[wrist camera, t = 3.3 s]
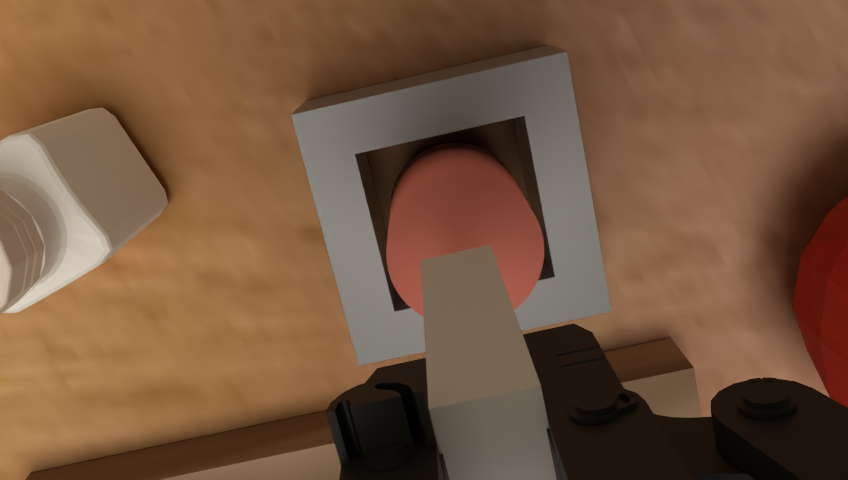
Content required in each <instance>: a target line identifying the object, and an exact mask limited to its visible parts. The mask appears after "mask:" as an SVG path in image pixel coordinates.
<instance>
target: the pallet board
mask: <svg viewBox="0 0 848 480" xmlns="http://www.w3.org/2000/svg"><path fill="white" fill-rule="evenodd" d="M604 354H605V356H606V359H608V361H609V363H610V364H611V366H612V368H613V370H614V371H615V373H616V375H617V377H618V378H619V380H620V382H621V384H622V385H623V387H624V389H627V390H630V391H633V392H636V393H638V394H639V395H640V396H641V397H642V398H643V399H644V400H645V401H646V402H647V404H648V405H649V407H650V409H651V410H652V412H653V413H654V414H657V415H662V416H668V417H683V418H693V417H701V415H700V408H699V401H698V394H697V387H696V380H695V373H694V368H693V366H692V365H691V364H690V362H689V361H688V360H687V358H686V357H685V356H684V355H683V353H682V352H681V351H680V349H679V348H678V347H677V346H676V344H675V343H674V342H673V340H672V339H671V338H667V339H662V340H657V341H653V342H648V343H643V344H638V345H634V346H629V347H624V348H619V349H615V350H610V351H605V352H604ZM326 411H327V410H326ZM326 411H322V412H317V413H312V414H308V415H303V416H298V417H293V418H289V419H284V420H279V421H274V422H270V423H265V424H260V425H256V426H251V427H246V428H241V429H237V430H232V431H227V432H222V433H218V434H213V435H208V436H204V437H199V438H194V439H189V440H185V441H180V442H175V443H170V444H166V445H161V446H156V447H152V448H147V449H142V450H137V451H133V452H128V453H123V454H118V455H114V456H109V457H104V458H100V459H95V460H90V461H85V462H81V463H76V464H71V465H66V466H62V467H57V468H52V469H48V470H43V471H38V472H33V473H30V475H29V476H28V477H27V478H26V480H339V477H340V470H341V464H340V461H339V457H338V454H337V450H336V447H335V443H334V440H333V436H332V433H331V429H330V426H329V422H328V419H327V415H326Z"/></svg>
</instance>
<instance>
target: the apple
mask: <svg viewBox="0 0 848 480" xmlns="http://www.w3.org/2000/svg"><path fill="white" fill-rule="evenodd" d="M793 309H794V312H795V315H796V318H797V321H798V324H799V327H800V330H801V333H802V336H803V339H804V342H805V345H806V348H807V350H808V352H809V355H810V357H811V359H812V361H813V363H814V365H815V367H816V369H817V371H818V373H819V375H820V377H821V380H822V382H823V384H824V386H825V388H826V390H827V392H828V394H829V396H830V398H831V399H833V400H835V401H836V402H838V403H840V404H842V405H844V406H845V407H847V408H848V196H847V197H846V198H845V199H843V200H842V201H841V202H840V203H839V204H837V205H836V206H835V207H834V208H832V209H831V210H830V211H829V213H828V215H827V216H826V218H825V219H824V221H823V222H822V224H821V226H820V227H819V229H818V230H817V232H816V233H815V235H814V237H813V238H812V240H811V241H810V243H809V244H808V246H807V248H806V249H805V251H804V252H803V254H802V255H801V259H800V265H799V271H798V276H797V282H796V288H795V294H794V300H793Z"/></svg>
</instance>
